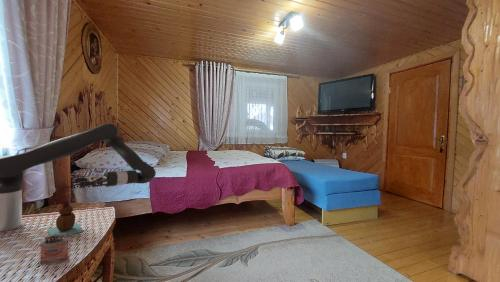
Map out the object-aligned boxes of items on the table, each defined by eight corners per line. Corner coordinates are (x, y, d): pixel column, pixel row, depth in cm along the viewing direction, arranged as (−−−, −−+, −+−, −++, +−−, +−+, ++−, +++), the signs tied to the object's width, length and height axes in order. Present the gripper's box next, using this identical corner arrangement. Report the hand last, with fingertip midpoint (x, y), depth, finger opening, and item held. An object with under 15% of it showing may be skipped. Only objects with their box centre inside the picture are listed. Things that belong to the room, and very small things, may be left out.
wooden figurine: (63, 234, 99) (63, 201, 98) (53, 232, 100) (53, 199, 99) (77, 227, 105) (78, 196, 105) (68, 225, 107) (68, 195, 106)
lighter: (38, 266, 77) (38, 238, 77) (42, 260, 80) (42, 233, 80) (66, 261, 81) (67, 235, 80) (69, 256, 84) (70, 230, 83)
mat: (47, 230, 102) (47, 229, 102) (76, 223, 110) (76, 222, 110) (52, 239, 94) (52, 238, 94) (83, 231, 103) (83, 230, 103)
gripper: (110, 168, 119) (73, 171, 106) (121, 173, 110) (81, 177, 97) (110, 182, 119) (72, 187, 107) (120, 188, 110) (80, 194, 98)
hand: (76, 182), depth 102 cm, fingers open, 8 cm apart
